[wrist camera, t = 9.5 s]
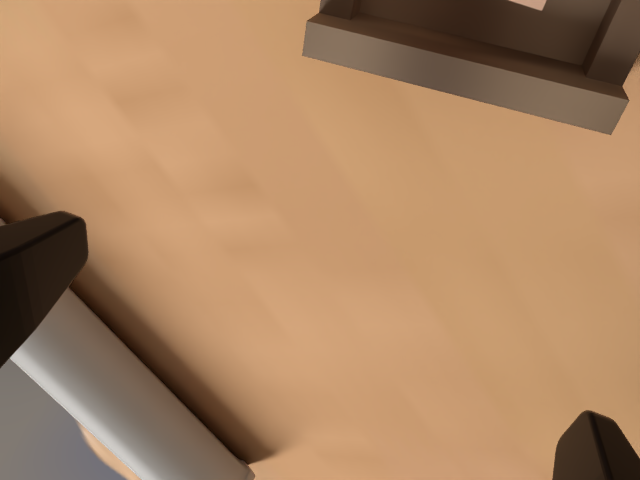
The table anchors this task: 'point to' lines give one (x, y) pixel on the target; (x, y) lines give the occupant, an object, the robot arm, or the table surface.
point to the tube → (121, 398)
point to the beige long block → (532, 3)
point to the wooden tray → (492, 51)
